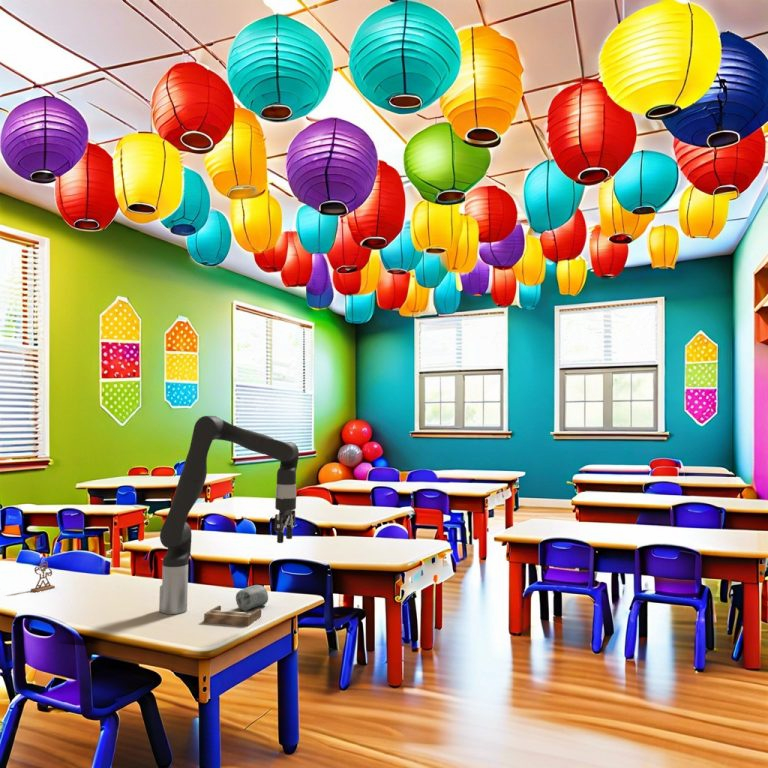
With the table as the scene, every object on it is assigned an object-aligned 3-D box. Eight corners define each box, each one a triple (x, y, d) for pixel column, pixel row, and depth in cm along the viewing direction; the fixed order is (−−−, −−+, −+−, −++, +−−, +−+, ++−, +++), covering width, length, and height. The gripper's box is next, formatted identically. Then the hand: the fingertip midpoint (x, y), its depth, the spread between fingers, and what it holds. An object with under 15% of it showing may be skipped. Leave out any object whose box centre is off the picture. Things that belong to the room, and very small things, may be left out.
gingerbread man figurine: (49, 587, 291) (50, 558, 292) (55, 588, 290) (56, 559, 290) (30, 591, 283) (31, 562, 284) (36, 592, 282) (37, 563, 282)
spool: (247, 605, 252) (245, 579, 257) (231, 613, 257) (229, 587, 262) (275, 607, 262) (272, 582, 267) (259, 615, 266) (256, 590, 271)
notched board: (203, 622, 242) (204, 611, 242) (218, 613, 253) (218, 603, 253) (248, 625, 238) (248, 615, 239) (261, 617, 249) (261, 607, 249)
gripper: (283, 494, 259) (282, 537, 258) (268, 498, 245) (267, 543, 244) (302, 494, 257) (301, 538, 256) (288, 498, 243) (286, 544, 242)
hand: (284, 540), depth 250 cm, fingers open, 8 cm apart
